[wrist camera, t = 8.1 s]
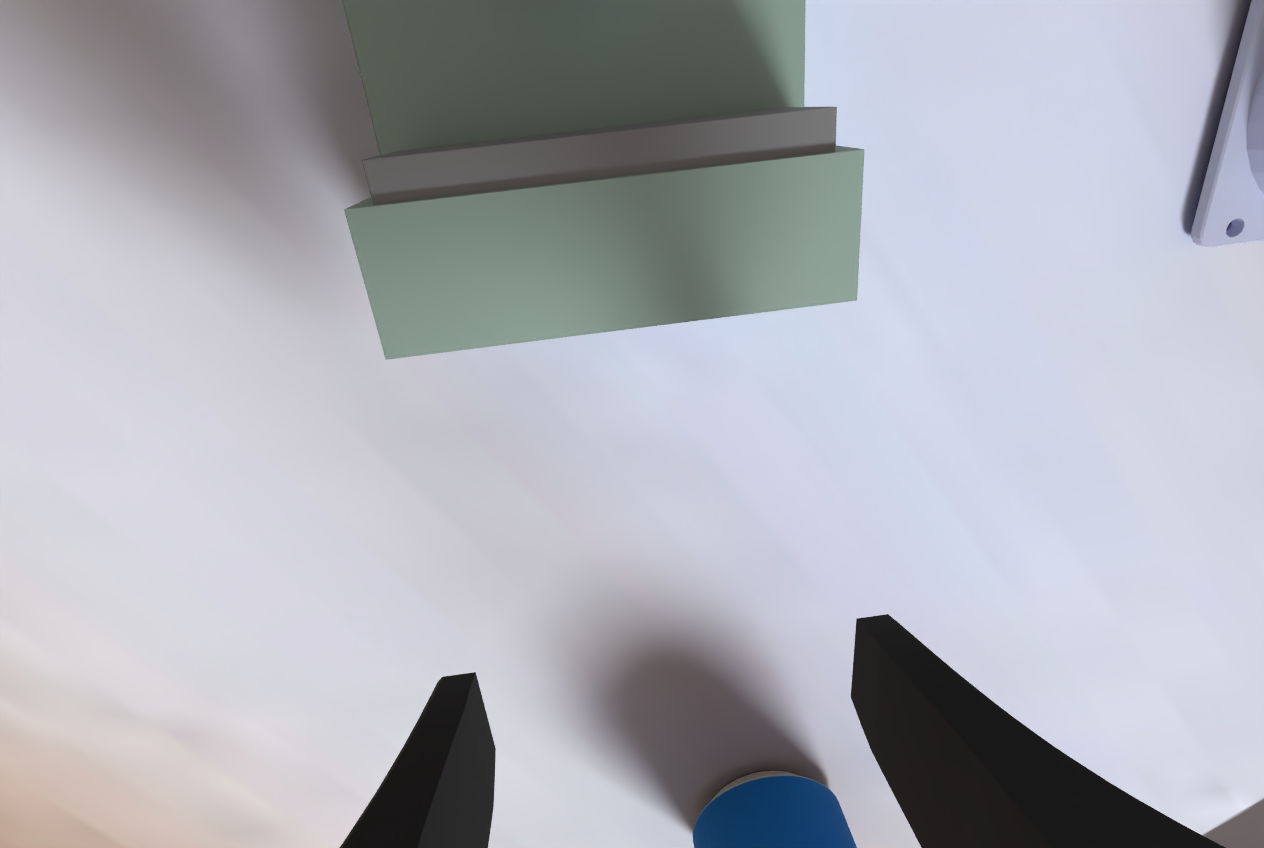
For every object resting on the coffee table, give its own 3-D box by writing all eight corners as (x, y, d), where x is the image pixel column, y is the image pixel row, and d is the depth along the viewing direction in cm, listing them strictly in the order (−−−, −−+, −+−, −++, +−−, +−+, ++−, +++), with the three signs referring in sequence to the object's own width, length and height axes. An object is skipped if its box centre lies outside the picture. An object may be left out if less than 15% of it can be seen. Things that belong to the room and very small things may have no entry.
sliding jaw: (805, 105, 16) (866, 103, 13) (803, 265, 17) (857, 300, 14) (378, 152, 15) (331, 164, 12) (418, 312, 17) (385, 359, 14)
